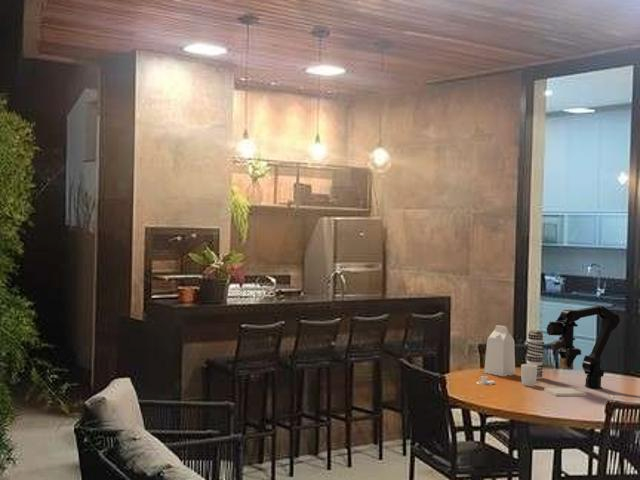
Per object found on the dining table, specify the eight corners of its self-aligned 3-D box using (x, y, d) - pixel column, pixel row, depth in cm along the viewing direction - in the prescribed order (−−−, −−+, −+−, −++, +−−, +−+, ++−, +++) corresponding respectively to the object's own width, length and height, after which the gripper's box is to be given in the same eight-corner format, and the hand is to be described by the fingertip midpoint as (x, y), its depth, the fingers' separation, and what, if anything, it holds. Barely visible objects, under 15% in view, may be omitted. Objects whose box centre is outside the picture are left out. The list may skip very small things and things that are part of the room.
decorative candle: (540, 379, 414) (542, 332, 413) (523, 377, 418) (524, 330, 418) (545, 377, 421) (546, 330, 421) (528, 375, 426) (529, 329, 426)
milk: (515, 374, 428) (516, 326, 428) (503, 376, 420) (504, 327, 420) (496, 370, 437) (497, 324, 436) (484, 373, 429) (485, 325, 428)
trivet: (575, 390, 387) (575, 388, 387) (586, 395, 375) (587, 393, 375) (544, 390, 385) (544, 388, 385) (555, 395, 373) (555, 393, 373)
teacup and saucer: (495, 384, 400) (495, 376, 400) (491, 386, 393) (492, 378, 393) (478, 382, 404) (478, 374, 403) (474, 384, 396) (474, 376, 396)
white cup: (537, 387, 394) (537, 367, 393) (520, 385, 395) (521, 366, 395) (536, 384, 401) (536, 364, 401) (520, 383, 403) (520, 363, 403)
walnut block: (568, 367, 395) (568, 357, 395) (573, 369, 391) (573, 359, 390) (559, 367, 395) (559, 357, 395) (563, 369, 390) (564, 359, 390)
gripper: (544, 332, 400) (542, 363, 401) (560, 337, 382) (559, 369, 382) (564, 332, 402) (563, 363, 402) (582, 338, 384) (581, 370, 384)
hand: (566, 366), depth 393 cm, fingers closed on walnut block, 5 cm apart
